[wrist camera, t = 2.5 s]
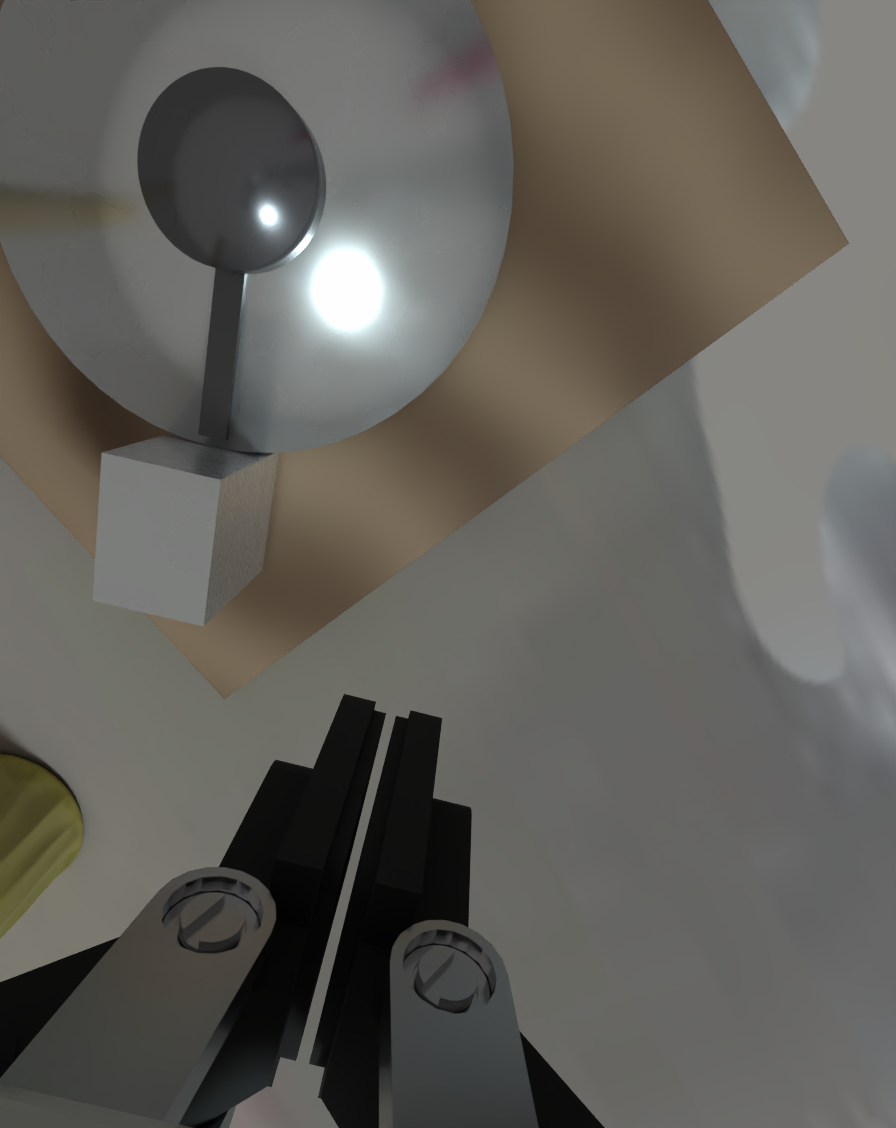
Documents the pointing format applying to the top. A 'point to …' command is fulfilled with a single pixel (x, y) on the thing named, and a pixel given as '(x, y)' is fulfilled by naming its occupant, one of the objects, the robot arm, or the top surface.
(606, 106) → the base plate
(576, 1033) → the top surface
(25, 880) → the vase
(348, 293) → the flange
